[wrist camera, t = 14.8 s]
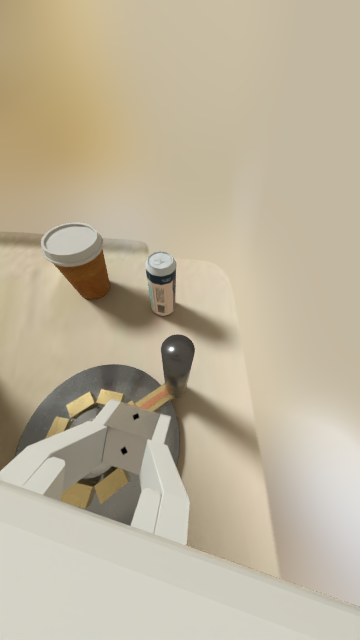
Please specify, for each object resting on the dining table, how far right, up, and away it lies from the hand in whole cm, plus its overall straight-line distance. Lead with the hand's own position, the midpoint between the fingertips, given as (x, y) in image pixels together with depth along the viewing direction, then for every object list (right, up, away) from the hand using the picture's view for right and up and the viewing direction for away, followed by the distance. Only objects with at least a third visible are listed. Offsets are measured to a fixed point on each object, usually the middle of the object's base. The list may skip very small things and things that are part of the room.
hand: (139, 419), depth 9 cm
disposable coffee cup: (-16, +11, +32) cm, 38 cm away
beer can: (-1, +7, +30) cm, 31 cm away
